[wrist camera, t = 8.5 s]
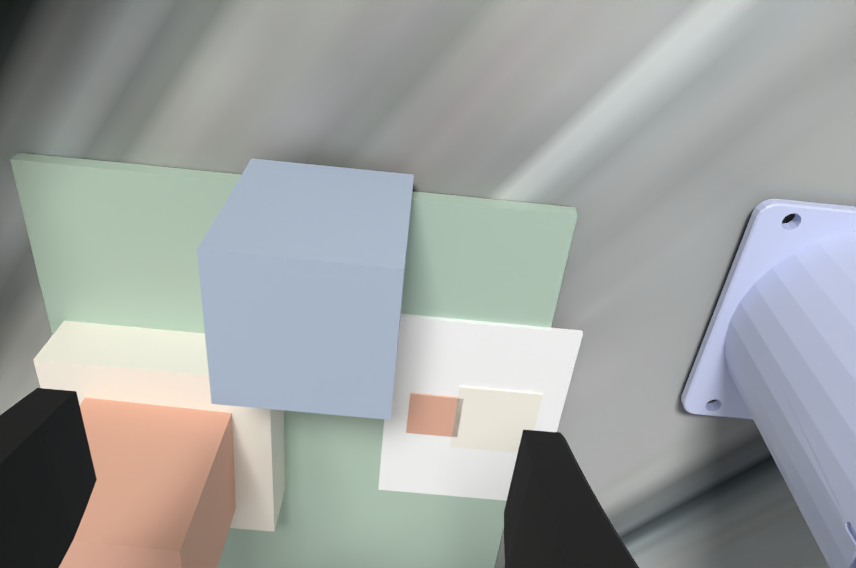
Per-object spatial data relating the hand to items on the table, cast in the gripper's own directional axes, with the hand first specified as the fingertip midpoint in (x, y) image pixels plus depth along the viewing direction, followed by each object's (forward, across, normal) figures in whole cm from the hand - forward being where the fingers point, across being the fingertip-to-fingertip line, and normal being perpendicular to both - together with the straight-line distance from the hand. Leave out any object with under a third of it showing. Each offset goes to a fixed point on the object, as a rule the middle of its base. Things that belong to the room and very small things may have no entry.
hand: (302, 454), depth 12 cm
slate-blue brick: (+10, +1, +2) cm, 10 cm away
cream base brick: (+10, +6, +9) cm, 15 cm away
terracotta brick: (+8, +6, +9) cm, 13 cm away
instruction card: (+10, -4, +8) cm, 13 cm away
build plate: (+10, +2, +12) cm, 16 cm away
